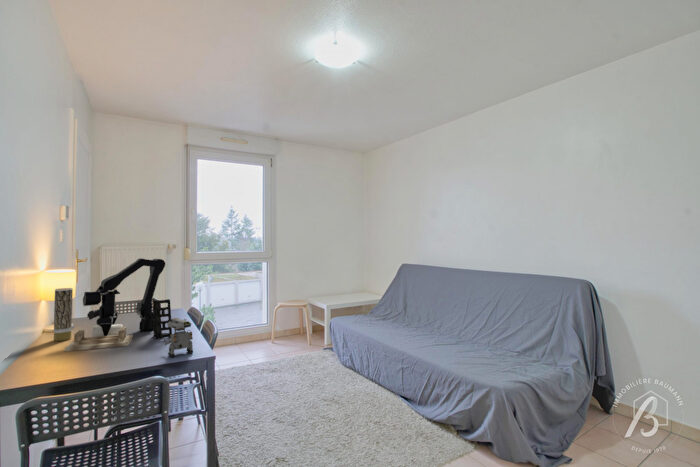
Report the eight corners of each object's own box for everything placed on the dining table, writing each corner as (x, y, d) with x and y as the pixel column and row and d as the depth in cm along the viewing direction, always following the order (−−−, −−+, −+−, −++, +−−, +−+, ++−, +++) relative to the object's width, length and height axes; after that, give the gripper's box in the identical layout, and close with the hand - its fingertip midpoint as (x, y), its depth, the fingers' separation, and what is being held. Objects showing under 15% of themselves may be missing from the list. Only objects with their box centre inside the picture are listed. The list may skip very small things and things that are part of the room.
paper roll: (122, 335, 186) (123, 323, 187) (120, 336, 181) (121, 324, 181) (94, 337, 181) (94, 325, 182) (91, 339, 176) (92, 326, 176)
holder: (176, 334, 185) (174, 297, 184) (168, 340, 178) (166, 300, 176) (157, 334, 186) (154, 296, 185) (147, 339, 179) (145, 300, 177)
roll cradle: (132, 337, 179) (133, 324, 180) (128, 345, 167) (128, 331, 167) (74, 343, 170) (74, 329, 170) (64, 351, 157) (65, 336, 157)
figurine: (184, 348, 163) (185, 315, 163) (194, 354, 155) (195, 319, 155) (163, 352, 156) (163, 318, 157) (172, 359, 148) (173, 323, 149)
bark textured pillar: (61, 342, 171) (62, 290, 172) (49, 341, 172) (51, 289, 173) (74, 338, 178) (76, 288, 178) (63, 337, 179) (65, 287, 180)
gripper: (93, 301, 187) (93, 331, 186) (84, 307, 170) (83, 340, 169) (118, 300, 191) (118, 329, 191) (111, 306, 174) (111, 338, 174)
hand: (107, 334), depth 181 cm, fingers open, 9 cm apart
